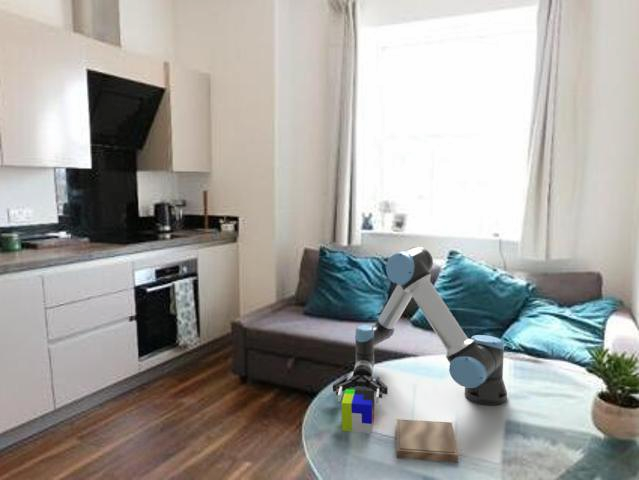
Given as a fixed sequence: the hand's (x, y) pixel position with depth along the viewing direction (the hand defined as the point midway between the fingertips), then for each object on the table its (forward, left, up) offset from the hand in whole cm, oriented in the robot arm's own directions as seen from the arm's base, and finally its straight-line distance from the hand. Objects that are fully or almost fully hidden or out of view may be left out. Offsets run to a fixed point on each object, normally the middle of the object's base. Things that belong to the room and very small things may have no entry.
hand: (357, 399), depth 169 cm
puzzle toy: (-1, +6, -6) cm, 8 cm away
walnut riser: (-23, +15, -6) cm, 28 cm away
